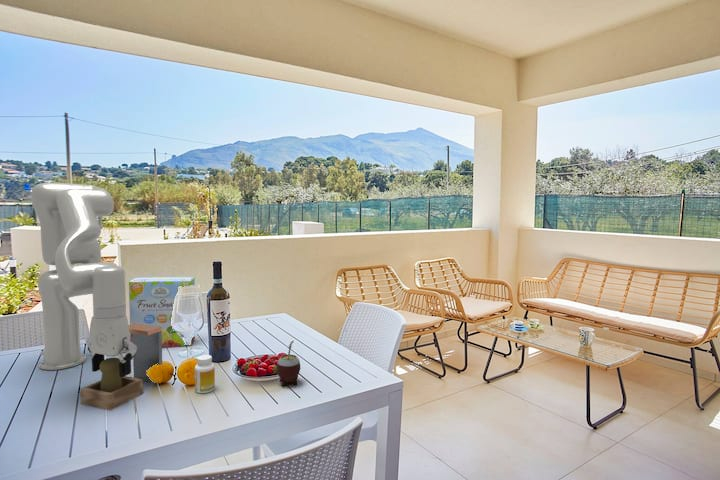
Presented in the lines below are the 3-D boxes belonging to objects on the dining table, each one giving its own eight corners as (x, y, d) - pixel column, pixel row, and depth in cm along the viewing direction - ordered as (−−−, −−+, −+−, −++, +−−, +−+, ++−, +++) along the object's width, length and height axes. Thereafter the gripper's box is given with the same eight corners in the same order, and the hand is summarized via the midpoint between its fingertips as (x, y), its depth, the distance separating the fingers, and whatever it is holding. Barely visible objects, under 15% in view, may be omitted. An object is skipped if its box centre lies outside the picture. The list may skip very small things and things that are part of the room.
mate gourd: (286, 376, 127) (286, 330, 126) (306, 381, 124) (307, 333, 122) (270, 385, 120) (271, 336, 119) (292, 391, 117) (292, 341, 116)
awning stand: (122, 384, 120) (120, 327, 118) (137, 377, 124) (135, 323, 123) (149, 389, 117) (147, 331, 115) (162, 382, 121) (161, 326, 120)
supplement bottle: (218, 387, 119) (218, 355, 118) (206, 395, 114) (205, 361, 113) (203, 384, 121) (203, 352, 120) (190, 392, 115) (190, 359, 115)
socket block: (80, 403, 108) (80, 389, 107) (115, 387, 117) (114, 374, 117) (110, 410, 104) (109, 395, 104) (143, 393, 114) (142, 379, 114)
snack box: (129, 350, 147) (126, 281, 145) (136, 342, 156) (134, 277, 154) (192, 346, 152) (191, 279, 150) (196, 339, 161) (195, 275, 159)
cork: (112, 404, 108) (111, 364, 107) (93, 401, 109) (91, 362, 108) (129, 393, 114) (128, 356, 113) (110, 391, 115) (109, 354, 114)
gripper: (72, 311, 108) (75, 373, 110) (122, 318, 103) (124, 383, 104) (98, 305, 115) (100, 363, 117) (146, 311, 110) (147, 372, 111)
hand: (111, 372), depth 111 cm, fingers open, 9 cm apart
